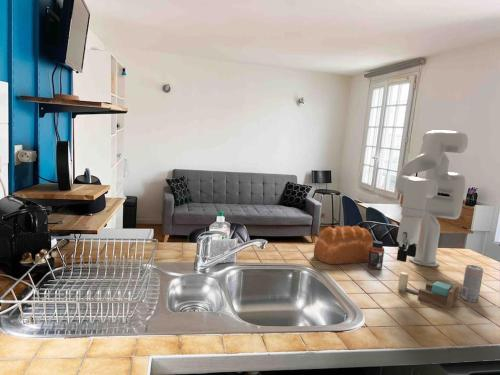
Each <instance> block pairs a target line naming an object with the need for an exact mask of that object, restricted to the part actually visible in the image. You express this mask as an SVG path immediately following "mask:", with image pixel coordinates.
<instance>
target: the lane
mask: <svg viewBox="0 0 500 375" xmlns="http://www.w3.org/2000/svg"><path fill="white" fill-rule="evenodd" d="M432 285H433V284H431V283H428V282H427V283H426V284H425V288H424V289H422V288H419V290H418V292H419V294H417V300H420V301H423V302H426V303H428V304H432V305H434V306H438V307H441V308H444V309H447V310H451V308H453V306H454V305H455V304H456V303H457V299H458V293H459V287H460V285H457V284H454V285H452V288H451V289H450V290H449V291H448V297H446V296H442V295H439V294H436V293H433V292H431V291H432Z"/></svg>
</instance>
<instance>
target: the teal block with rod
mask: <svg viewBox="0 0 500 375" xmlns="http://www.w3.org/2000/svg"><path fill="white" fill-rule="evenodd" d="M398 278H399V279H398V286H397V289H398V290H399V291H403V292H405V291H406V292H409V293H413V294H415V295H418V294H419V290H415V289H411V288H408V282H409V273H407V272H405V271H404V272H403V271H402V272H399V276H398ZM431 285H432V291H431V292H433V293H436V294H439V295H442V296H446V297H448V291H449V290H450V289H451V288H452V287H453V285H452V284H449V283H444V282H441V281H438V280H436V281H435V282H434V283H433V284H431Z"/></svg>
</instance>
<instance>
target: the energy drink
mask: <svg viewBox="0 0 500 375" xmlns="http://www.w3.org/2000/svg"><path fill="white" fill-rule="evenodd" d="M483 269H484V268H482V267H481V266H478V265H474V264H467V265H466V267H465V269H464V275H463V281H462V282H463V284H462V288H461V296H460V297H461V299H462V300H463V301H467V302H470V303H477V302H479V298H480V293H481V288H482V280H483V274H484V270H483Z"/></svg>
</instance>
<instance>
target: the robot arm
mask: <svg viewBox="0 0 500 375" xmlns="http://www.w3.org/2000/svg"><path fill="white" fill-rule="evenodd" d="M468 144H469V137H468V134H466V132H462V131H456V130H455V131H453V130H438V129H437V130H436V129H435V130H431V131H427V132H425V133H424V134H423V136H422V144H421V147H420V150H419V152H418V155H417V156H415V157H413V158H411V159H410V160H409V161H407V162H405V163H404V164H403V166H402V167H401V169H400V171H399V172H398V176H397V178H396V180H395V181H396V182H395V191H396V193H398V194H399V195H402V196H403V197H402V205H401V212H400V213H401V214H400V215H401V219H400V221H399V226H398V232H397V237H396V242H397V243H398V247H397V256H396V260H397V261H399V262H402V263H406V262H407V260H408V259H409V261H410V262H411V263H414V264H416V265H420V266H425V267H437V266H439V265H440V261H439V260H437V255H438V254H437V253H438V246H439V240H440V233H441V232H440V231H441V225H440V222H439V221H438V219H437V218H442V219H443V218H444V219H450V220H457V219H459V218H460V216H461V214H462V210H463V203H464V196H465V190H466V189H465V188H466V178H465V176H464V174H462V173H459V172H451V171H450V172H449V165H450V160H449V157H448V155H447V154H446V153H453V154H456V153H457V154H462V153H464V152H465V151H466V149H467V148H468ZM422 172H426V173H425V177H423V176H422V177H421V176H415V175H414V174H417V173H422ZM412 175H413V176H412ZM437 193H441V194H446V195H447V194H448V195H450V196H443V195H439V194H437ZM407 257H408V259H407Z"/></svg>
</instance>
